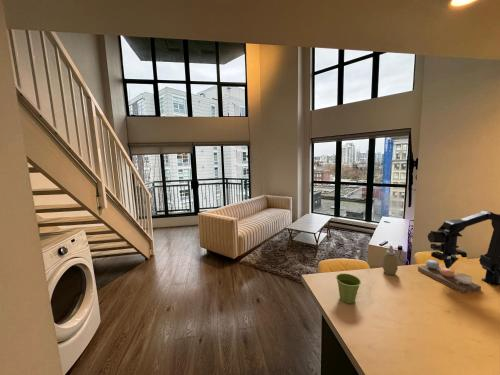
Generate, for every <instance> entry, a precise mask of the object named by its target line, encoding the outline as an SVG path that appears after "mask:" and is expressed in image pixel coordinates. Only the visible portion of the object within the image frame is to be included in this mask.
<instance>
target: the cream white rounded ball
mask: <svg viewBox="0 0 500 375" xmlns="http://www.w3.org/2000/svg"><path fill="white" fill-rule="evenodd" d="M456 275H457V281H459V282H461V283H462V284H463V285H466V284H472V282H473V276H471V275H468V274H466V273H461V272H459V273H458V272H457V274H456Z"/></svg>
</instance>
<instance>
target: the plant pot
mask: <svg viewBox="0 0 500 375" xmlns="http://www.w3.org/2000/svg"><path fill="white" fill-rule="evenodd" d="M335 279H336V281H337V287H338V294H339V298H340V300H341V301H342V302H343V303H346V304H350V305H351V304H354V303H355V302H356V299H357V295H358V291H359V288H360V286H361V284H362V280H361V279H360V278H359V277H357V276H355V275H353V274H351V273H343V272H342V273H339V274H337V275H336V276H335Z"/></svg>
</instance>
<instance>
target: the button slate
mask: <svg viewBox="0 0 500 375" xmlns="http://www.w3.org/2000/svg"><path fill="white" fill-rule="evenodd" d="M425 266H428V267H430V268H431V269H432V270H434V269H438V268H439V267H440V262H439V261H438V260H435V259H434V260H433V259H426V265H425Z"/></svg>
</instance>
